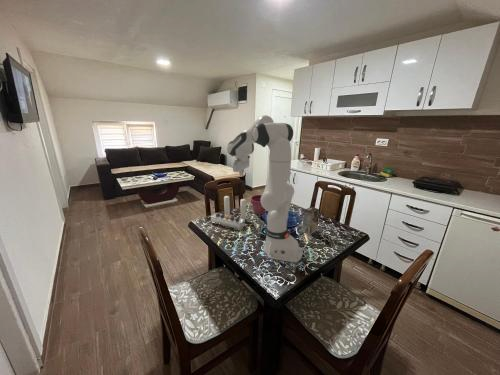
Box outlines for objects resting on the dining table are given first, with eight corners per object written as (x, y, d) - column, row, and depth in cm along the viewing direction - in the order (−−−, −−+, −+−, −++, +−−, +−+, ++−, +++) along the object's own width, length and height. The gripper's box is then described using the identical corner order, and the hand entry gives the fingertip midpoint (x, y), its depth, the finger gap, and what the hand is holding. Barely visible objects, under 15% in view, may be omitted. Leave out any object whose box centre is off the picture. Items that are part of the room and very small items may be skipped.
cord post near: (247, 219, 159) (247, 199, 154) (244, 221, 155) (244, 201, 150) (242, 217, 160) (241, 198, 155) (239, 220, 157) (239, 200, 152)
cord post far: (231, 215, 164) (230, 196, 159) (228, 217, 161) (227, 198, 155) (226, 214, 166) (225, 195, 161) (223, 216, 162) (222, 197, 157)
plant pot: (256, 217, 161) (256, 202, 157) (247, 211, 172) (247, 196, 168) (271, 214, 167) (272, 199, 163) (262, 207, 179) (262, 193, 175)
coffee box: (309, 227, 148) (311, 206, 143) (317, 230, 143) (319, 209, 138) (301, 231, 142) (303, 209, 137) (309, 235, 137) (311, 213, 132)
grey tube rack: (245, 225, 149) (245, 217, 147) (240, 230, 143) (240, 221, 140) (216, 218, 160) (215, 210, 157) (210, 222, 153) (209, 214, 151)
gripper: (238, 160, 145) (238, 179, 150) (250, 155, 163) (250, 172, 167) (230, 159, 148) (231, 178, 152) (243, 154, 166) (243, 171, 170)
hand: (241, 175), depth 160 cm, fingers closed
